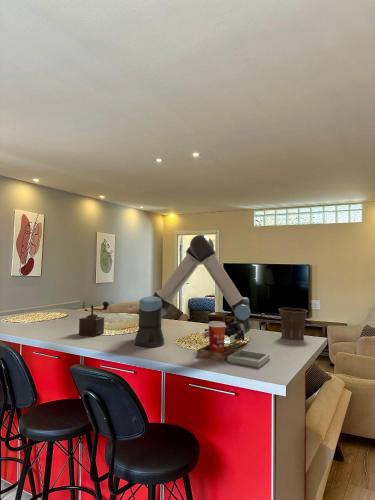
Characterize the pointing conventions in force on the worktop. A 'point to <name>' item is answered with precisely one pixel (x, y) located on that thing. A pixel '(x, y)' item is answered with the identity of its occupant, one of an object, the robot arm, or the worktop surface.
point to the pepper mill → (92, 323)
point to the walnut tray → (215, 353)
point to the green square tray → (249, 358)
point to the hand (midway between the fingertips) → (216, 337)
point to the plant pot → (293, 322)
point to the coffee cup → (216, 336)
